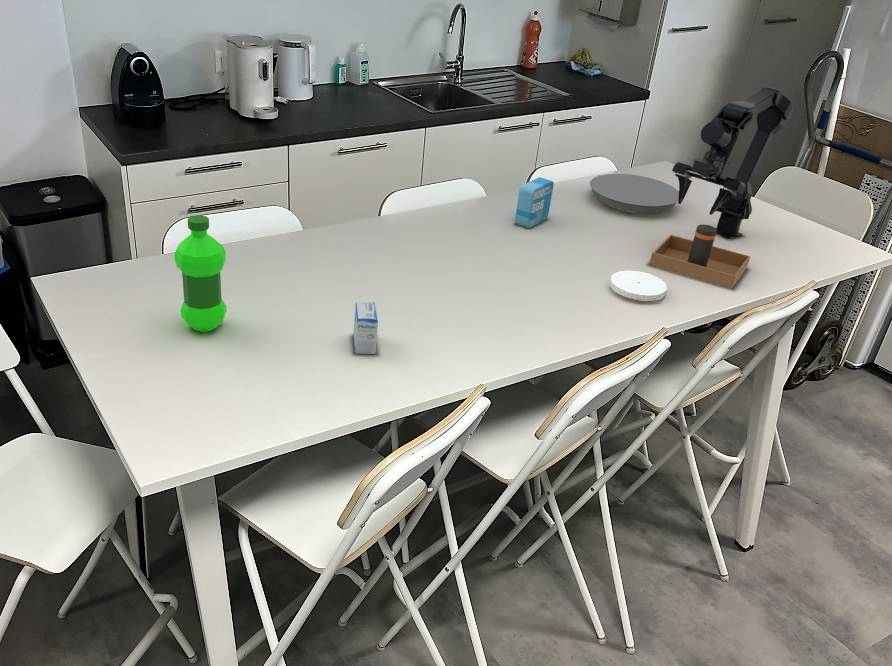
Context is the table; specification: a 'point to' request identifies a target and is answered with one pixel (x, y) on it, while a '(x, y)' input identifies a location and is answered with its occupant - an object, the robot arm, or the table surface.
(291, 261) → the table surface
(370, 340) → the medicine box
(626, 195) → the flat disc
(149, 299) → the table surface
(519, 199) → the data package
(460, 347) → the table surface
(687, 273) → the brown wooden tray
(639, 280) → the plastic lid
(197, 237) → the plastic bottle
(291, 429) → the table surface
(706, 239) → the dark grey cylinder
